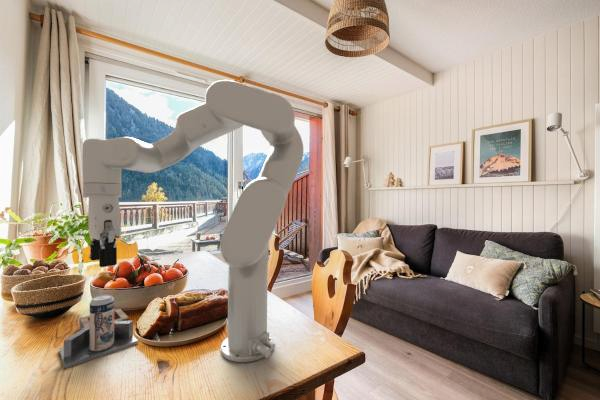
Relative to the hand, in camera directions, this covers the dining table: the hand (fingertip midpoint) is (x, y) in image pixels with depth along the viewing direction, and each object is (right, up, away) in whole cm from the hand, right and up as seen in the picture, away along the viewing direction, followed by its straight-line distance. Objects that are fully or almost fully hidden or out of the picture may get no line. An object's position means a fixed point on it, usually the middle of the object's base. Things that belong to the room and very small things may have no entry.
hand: (103, 262), depth 65 cm
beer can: (0, -21, 0) cm, 21 cm away
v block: (-2, -21, +1) cm, 21 cm away
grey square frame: (-8, -21, +11) cm, 25 cm away
